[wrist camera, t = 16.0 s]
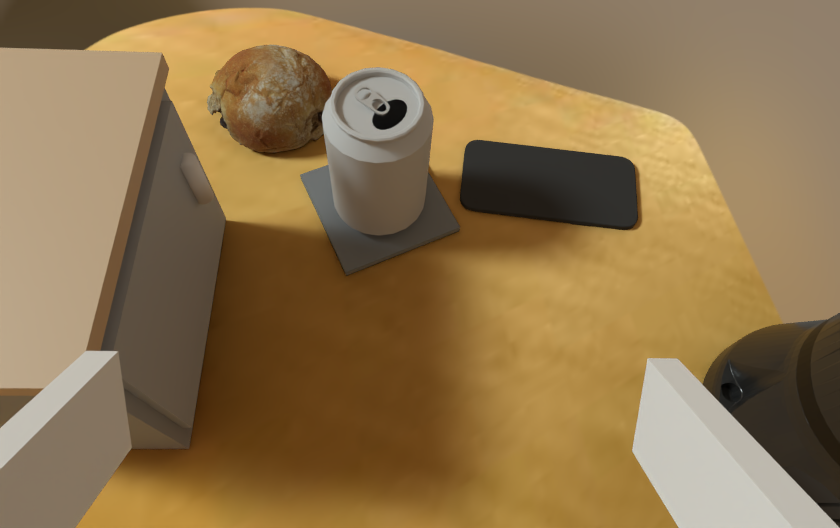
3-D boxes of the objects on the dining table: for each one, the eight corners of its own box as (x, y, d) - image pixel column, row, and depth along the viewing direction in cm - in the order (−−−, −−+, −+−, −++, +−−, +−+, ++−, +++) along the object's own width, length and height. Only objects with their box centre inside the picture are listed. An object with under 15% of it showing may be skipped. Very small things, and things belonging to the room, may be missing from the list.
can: (388, 257, 47) (389, 166, 36) (315, 208, 48) (294, 107, 38) (442, 194, 50) (457, 92, 39) (371, 150, 51) (367, 41, 41)
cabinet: (245, 215, 49) (180, 53, 33) (210, 456, 40) (101, 388, 25) (69, 211, 48) (-81, 45, 33) (-5, 457, 39) (-256, 387, 24)
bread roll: (295, 188, 54) (324, 147, 48) (185, 134, 51) (199, 82, 44) (328, 107, 59) (358, 59, 52) (229, 53, 56) (248, -5, 49)
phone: (466, 137, 53) (634, 157, 53) (465, 143, 54) (631, 162, 53) (459, 207, 50) (638, 229, 49) (458, 212, 50) (635, 234, 50)
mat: (407, 141, 53) (408, 137, 52) (459, 230, 49) (460, 227, 48) (301, 178, 50) (300, 174, 50) (346, 275, 46) (345, 272, 46)
